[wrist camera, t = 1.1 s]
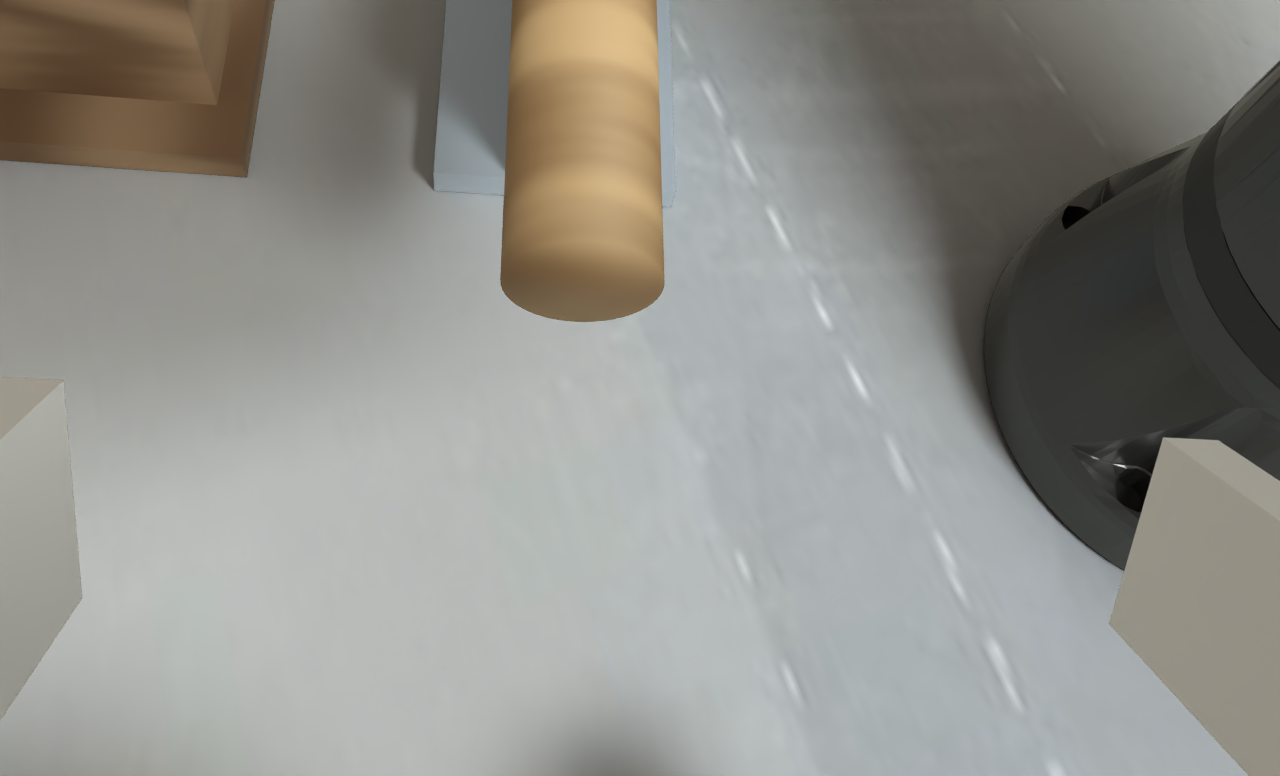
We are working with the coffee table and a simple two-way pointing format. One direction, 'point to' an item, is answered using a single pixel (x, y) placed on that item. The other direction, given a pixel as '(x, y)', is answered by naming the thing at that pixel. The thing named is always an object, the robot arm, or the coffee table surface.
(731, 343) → the coffee table surface
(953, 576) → the coffee table surface
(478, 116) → the cradle
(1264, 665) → the robot arm
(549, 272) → the rod
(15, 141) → the wooden stand
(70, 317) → the coffee table surface
